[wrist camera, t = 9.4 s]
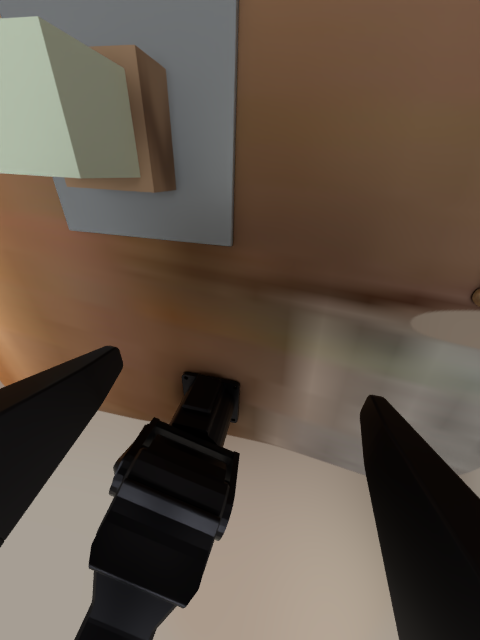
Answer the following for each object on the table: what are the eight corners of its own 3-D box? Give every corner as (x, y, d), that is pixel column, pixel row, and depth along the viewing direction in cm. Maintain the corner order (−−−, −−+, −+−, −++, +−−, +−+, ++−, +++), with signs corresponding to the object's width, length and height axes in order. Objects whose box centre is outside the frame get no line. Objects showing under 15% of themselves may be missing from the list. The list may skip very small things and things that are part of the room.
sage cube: (140, 177, 14) (80, 178, 10) (73, 173, 15) (-6, 172, 11) (124, 68, 11) (38, 16, 8) (45, 69, 12) (-70, 22, 8)
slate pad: (232, 244, 18) (231, 246, 18) (74, 229, 20) (69, 230, 20) (239, -33, 11) (237, -40, 11) (0, -11, 14) (-10, -17, 13)
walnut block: (176, 190, 17) (154, 192, 14) (100, 185, 18) (66, 186, 15) (165, 68, 13) (134, 44, 11) (73, 71, 14) (25, 49, 12)
